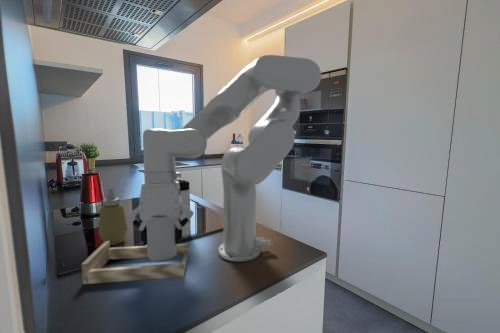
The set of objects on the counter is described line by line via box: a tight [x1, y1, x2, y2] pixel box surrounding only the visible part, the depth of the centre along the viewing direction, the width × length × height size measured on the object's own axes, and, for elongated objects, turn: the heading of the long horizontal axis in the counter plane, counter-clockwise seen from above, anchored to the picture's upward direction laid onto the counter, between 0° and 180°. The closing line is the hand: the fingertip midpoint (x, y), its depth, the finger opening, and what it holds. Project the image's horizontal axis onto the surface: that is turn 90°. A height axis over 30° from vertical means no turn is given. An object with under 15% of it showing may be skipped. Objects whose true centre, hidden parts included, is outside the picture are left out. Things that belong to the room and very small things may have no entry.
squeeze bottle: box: [98, 187, 128, 246], centre depth 78 cm, size 8×8×18 cm
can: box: [146, 216, 177, 263], centre depth 64 cm, size 8×8×12 cm
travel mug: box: [176, 179, 192, 240], centre depth 83 cm, size 6×7×20 cm
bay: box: [80, 241, 190, 285], centre depth 64 cm, size 23×12×5 cm, turn 98°
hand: (162, 242), depth 65 cm, fingers closed on can, 7 cm apart
